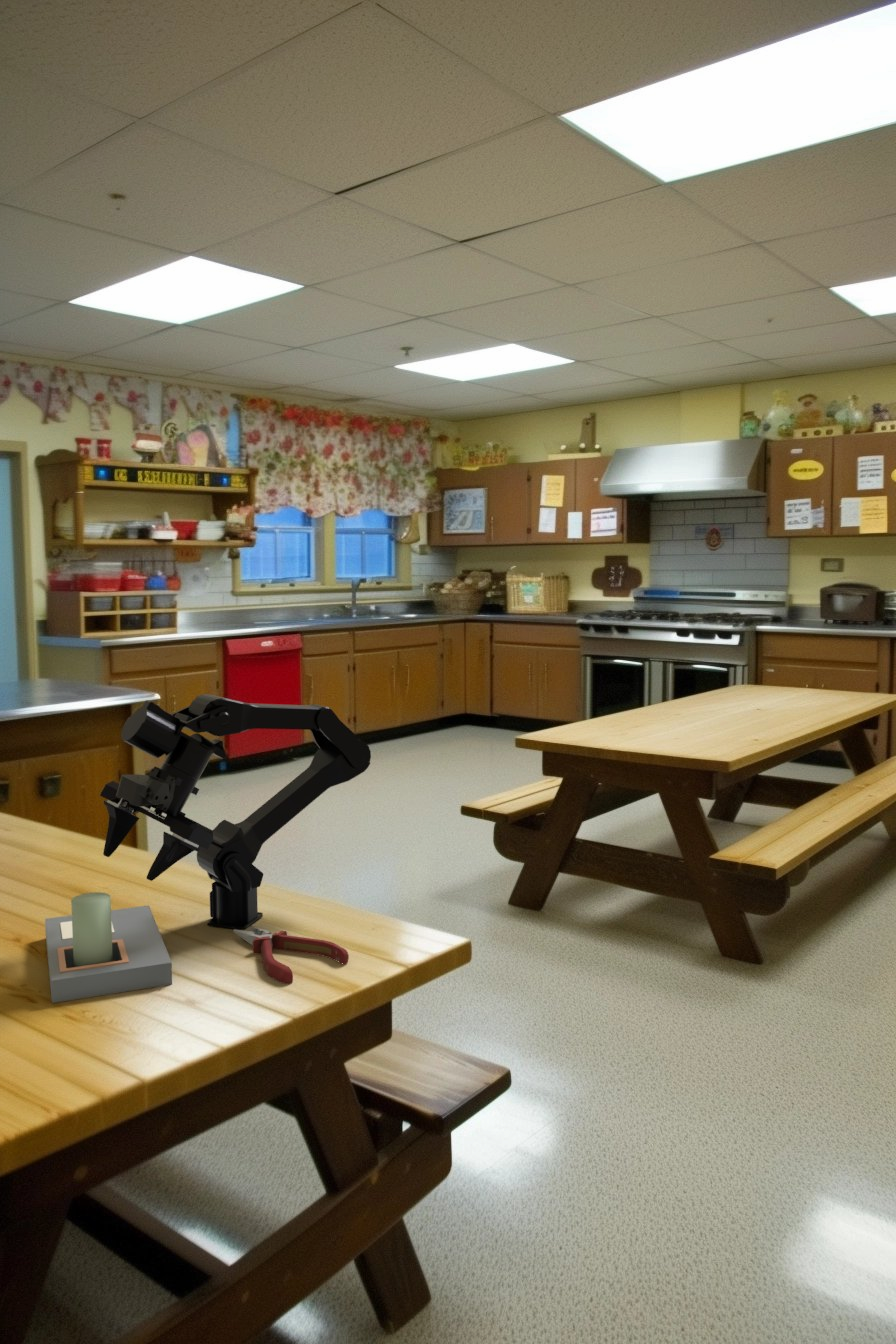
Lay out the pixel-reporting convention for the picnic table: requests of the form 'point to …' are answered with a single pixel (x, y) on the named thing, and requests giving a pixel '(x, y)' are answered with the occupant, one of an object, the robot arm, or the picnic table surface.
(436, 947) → the picnic table surface
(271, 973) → the pliers
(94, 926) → the post
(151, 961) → the slotted grey base
